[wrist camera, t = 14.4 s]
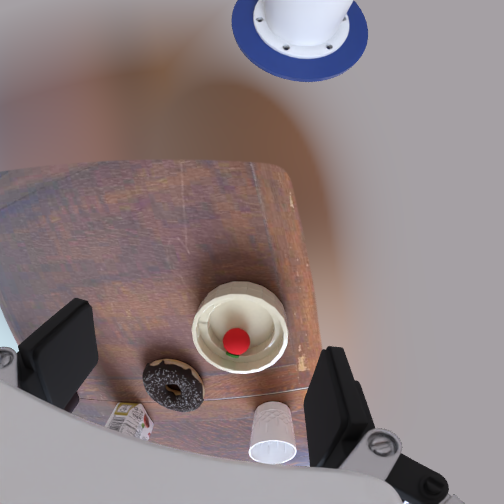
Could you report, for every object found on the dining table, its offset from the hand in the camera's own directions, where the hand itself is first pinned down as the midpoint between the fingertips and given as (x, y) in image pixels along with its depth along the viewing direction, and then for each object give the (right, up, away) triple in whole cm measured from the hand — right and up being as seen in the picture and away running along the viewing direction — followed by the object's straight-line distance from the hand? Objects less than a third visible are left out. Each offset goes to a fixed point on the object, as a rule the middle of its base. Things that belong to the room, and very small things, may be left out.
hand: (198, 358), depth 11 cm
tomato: (0, -7, +32) cm, 33 cm away
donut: (-12, -19, +38) cm, 44 cm away
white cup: (+6, -26, +39) cm, 48 cm away
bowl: (+1, -6, +34) cm, 34 cm away
